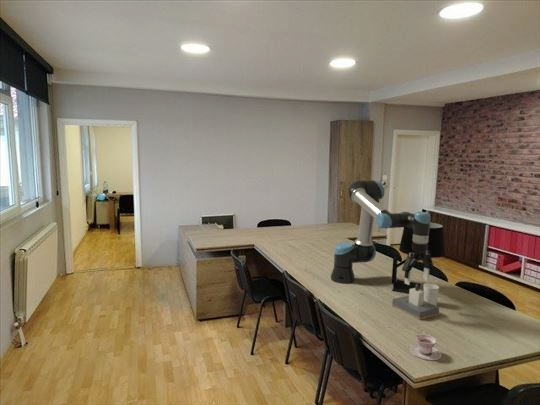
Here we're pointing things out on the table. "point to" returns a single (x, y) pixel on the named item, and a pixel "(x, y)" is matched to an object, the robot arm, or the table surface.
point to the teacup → (425, 347)
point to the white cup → (431, 293)
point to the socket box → (415, 308)
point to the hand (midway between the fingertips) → (416, 282)
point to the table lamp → (434, 247)
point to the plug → (416, 296)
